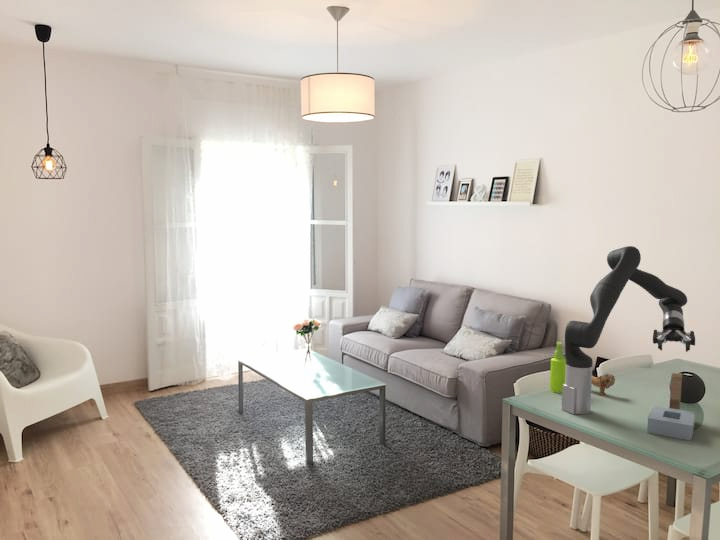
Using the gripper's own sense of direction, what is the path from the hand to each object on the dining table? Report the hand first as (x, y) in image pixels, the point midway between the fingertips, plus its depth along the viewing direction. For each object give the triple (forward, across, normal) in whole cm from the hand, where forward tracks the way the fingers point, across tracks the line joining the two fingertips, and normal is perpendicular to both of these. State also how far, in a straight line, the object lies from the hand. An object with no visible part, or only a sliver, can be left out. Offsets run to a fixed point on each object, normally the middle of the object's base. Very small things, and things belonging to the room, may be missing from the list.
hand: (673, 349), depth 224 cm
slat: (+21, 0, +15) cm, 26 cm away
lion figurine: (+3, -28, +22) cm, 35 cm away
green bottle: (+6, -42, +19) cm, 47 cm away
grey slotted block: (+32, -1, +10) cm, 33 cm away
